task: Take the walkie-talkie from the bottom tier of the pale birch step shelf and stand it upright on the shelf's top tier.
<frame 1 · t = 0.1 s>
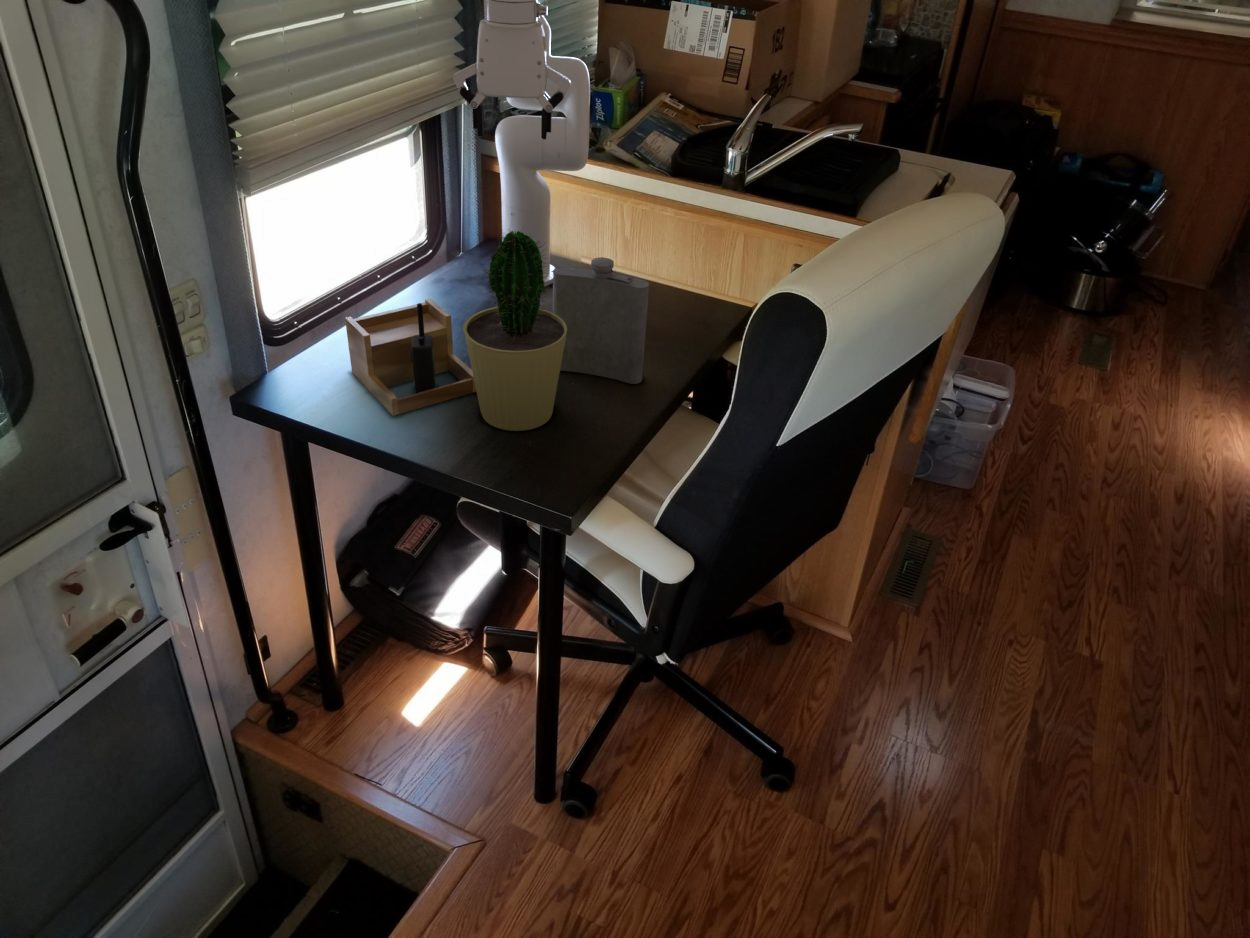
hand: (512, 135, 142), 37 cm above the table, tool pointing down, fingers open, 9 cm apart
step shelf: (414, 381, 153), on the table
walkie-talkie: (425, 392, 151), resting on step shelf
potted cactus: (516, 412, 148), on the table
hip flask: (597, 372, 160), on the table
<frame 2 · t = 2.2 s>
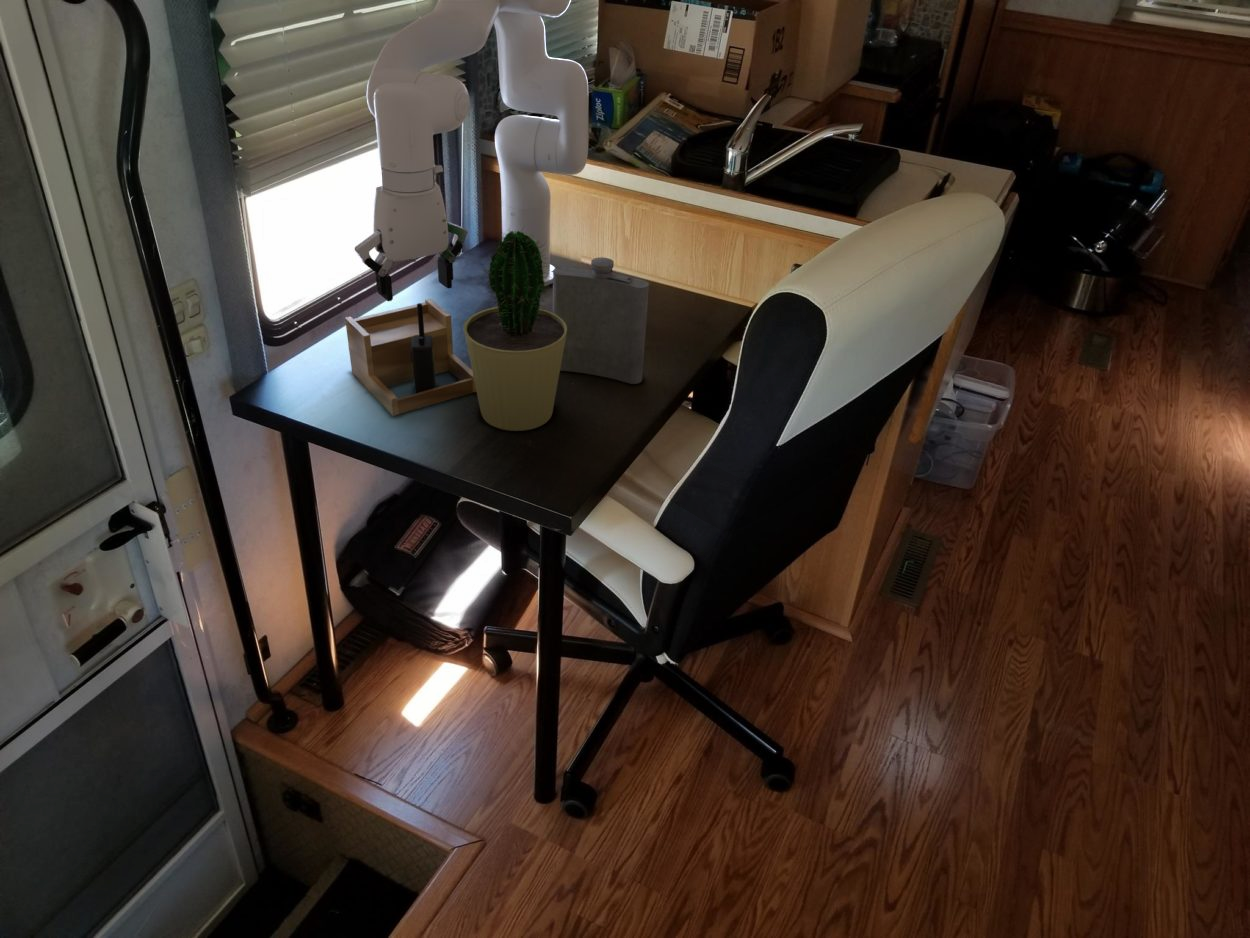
hand: (416, 291, 141), 18 cm above the table, tool pointing down, fingers open, 9 cm apart
nothing on the table moved.
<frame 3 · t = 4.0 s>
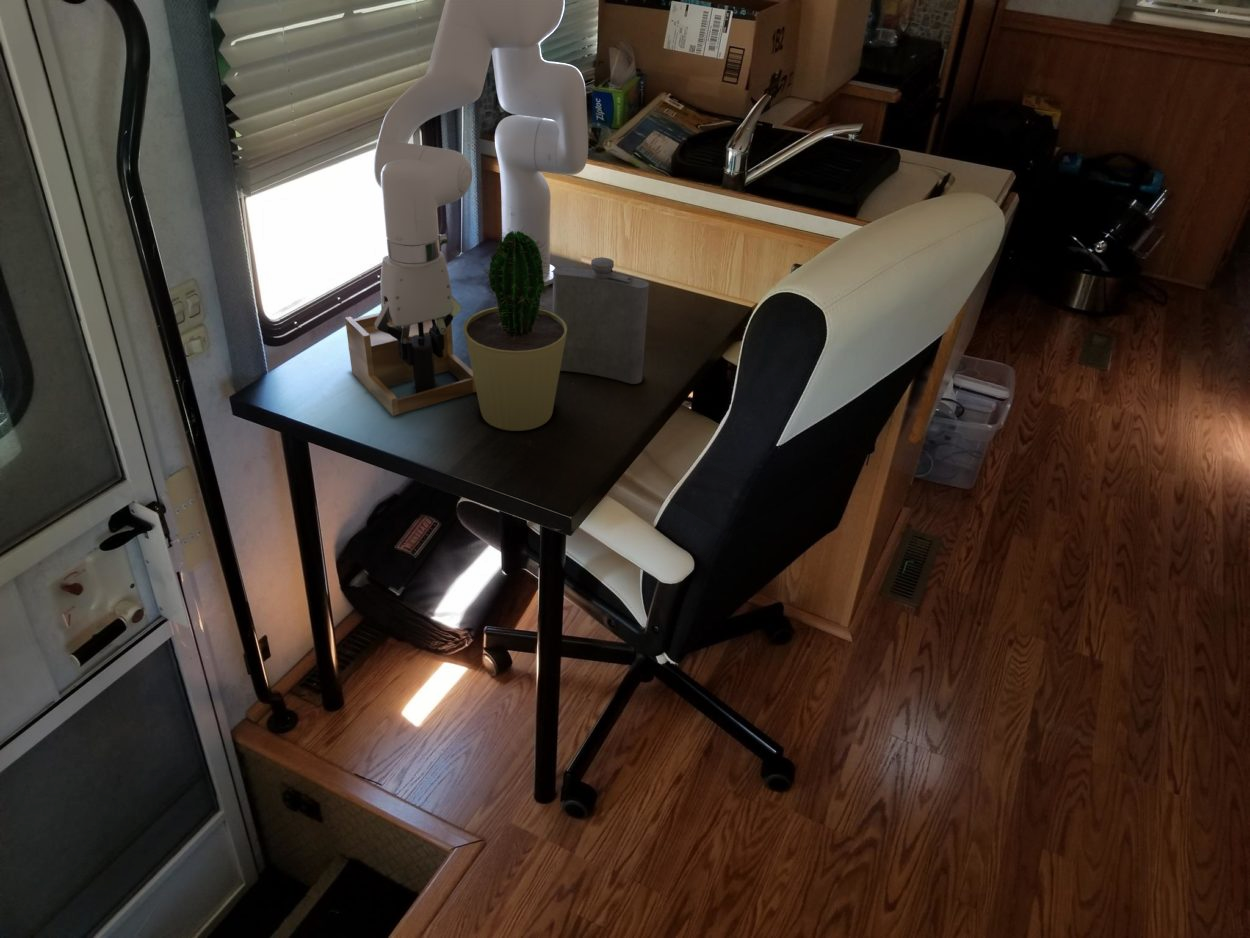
hand: (422, 357, 147), 6 cm above the table, tool pointing down, fingers closed on walkie-talkie, 4 cm apart
walkie-talkie: (425, 392, 151), resting on step shelf, touching gripper
everything else where it was.
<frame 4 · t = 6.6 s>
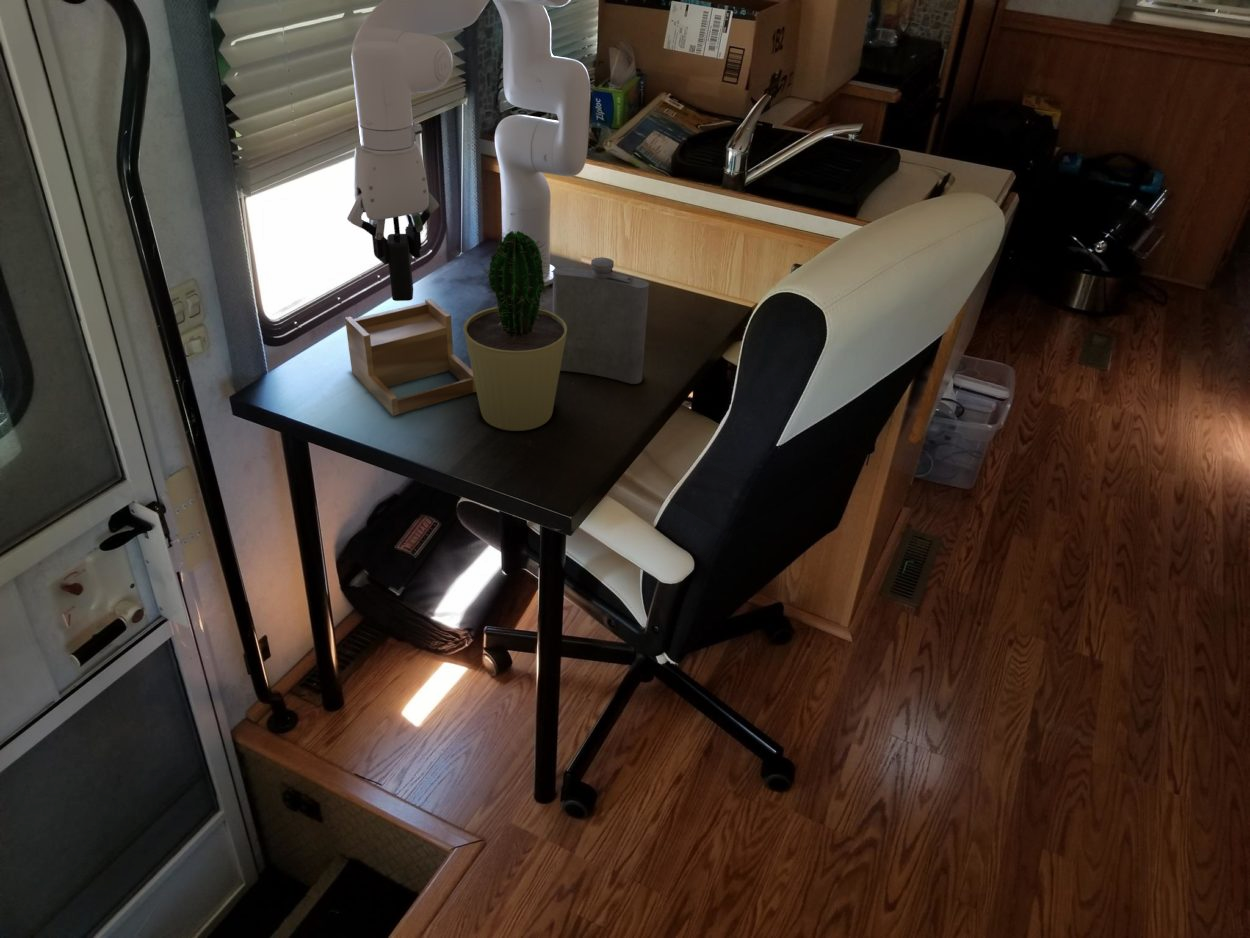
hand: (398, 256, 143), 21 cm above the table, tool pointing down, fingers closed on walkie-talkie, 4 cm apart
walkie-talkie: (402, 295, 147), point 14 cm above the table, touching gripper
everything else where it was.
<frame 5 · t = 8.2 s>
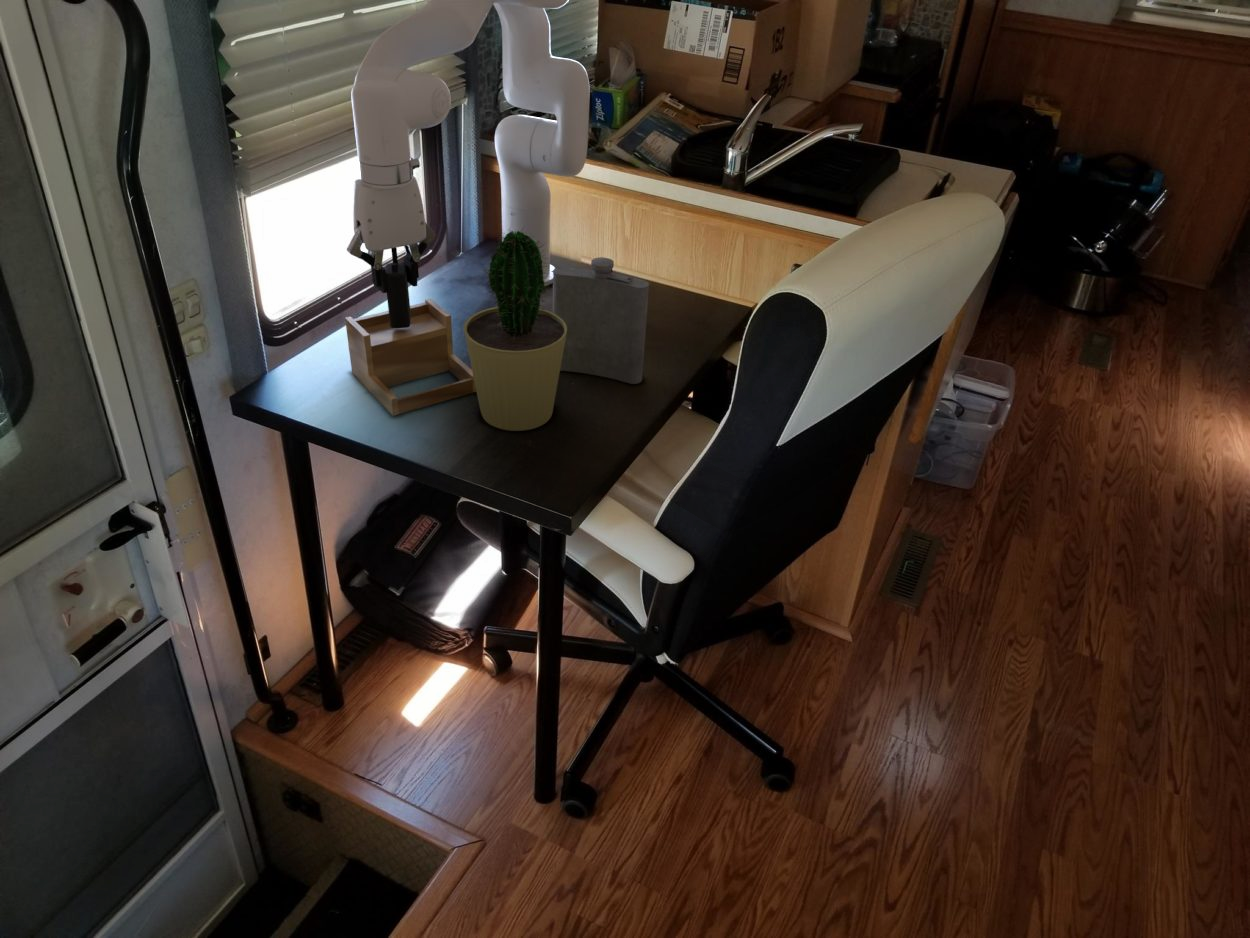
hand: (396, 285, 147), 15 cm above the table, tool pointing down, fingers closed on walkie-talkie, 4 cm apart
walkie-talkie: (400, 322, 151), point 9 cm above the table, touching gripper
everything else where it was.
when the fingers open (14 cm above the table, at t = 9.0 s): walkie-talkie stays where it is, resting on step shelf.
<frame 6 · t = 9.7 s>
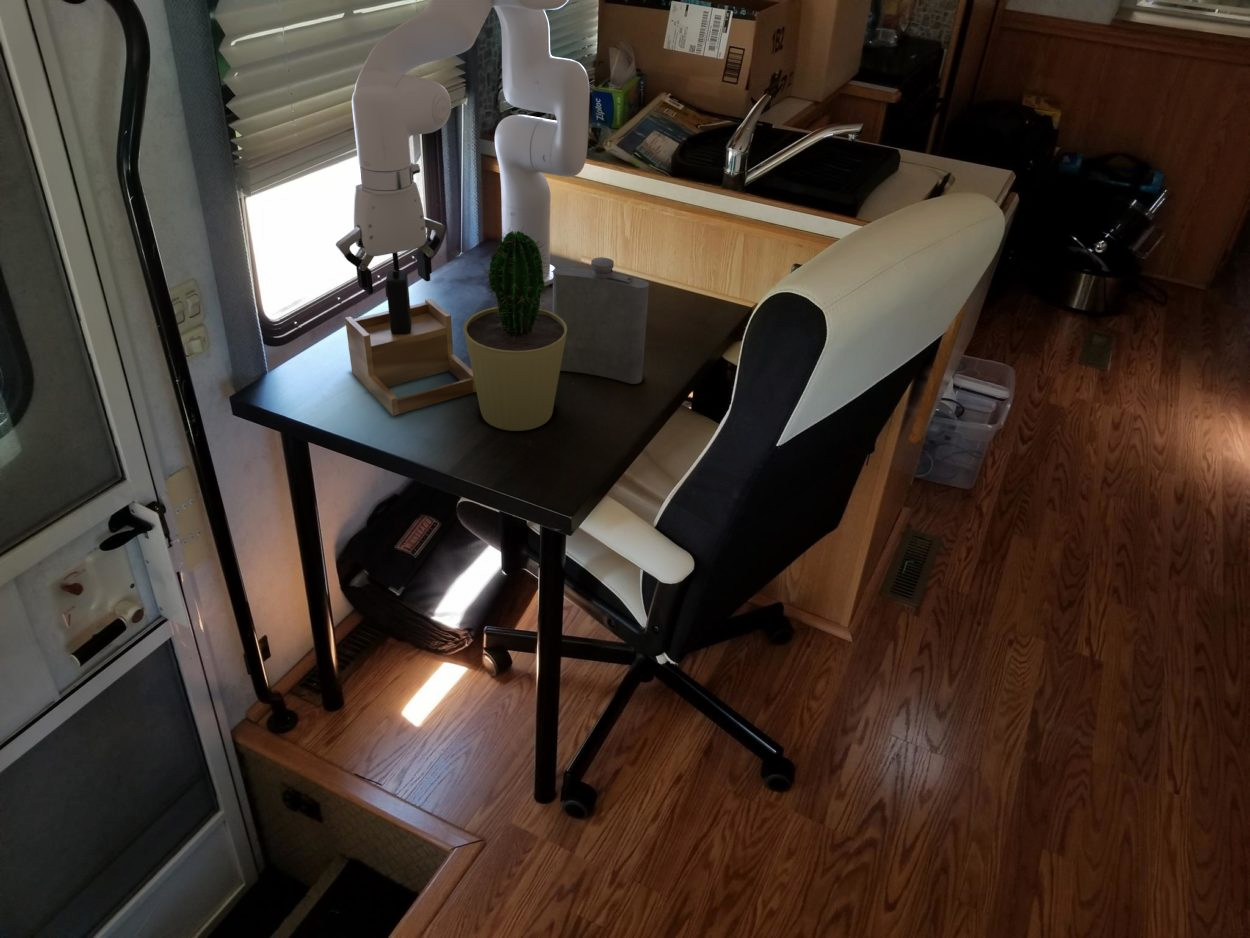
hand: (396, 284, 147), 16 cm above the table, tool pointing down, fingers open, 9 cm apart
walkie-talkie: (400, 329, 152), point 8 cm above the table, touching step shelf
everything else where it was.
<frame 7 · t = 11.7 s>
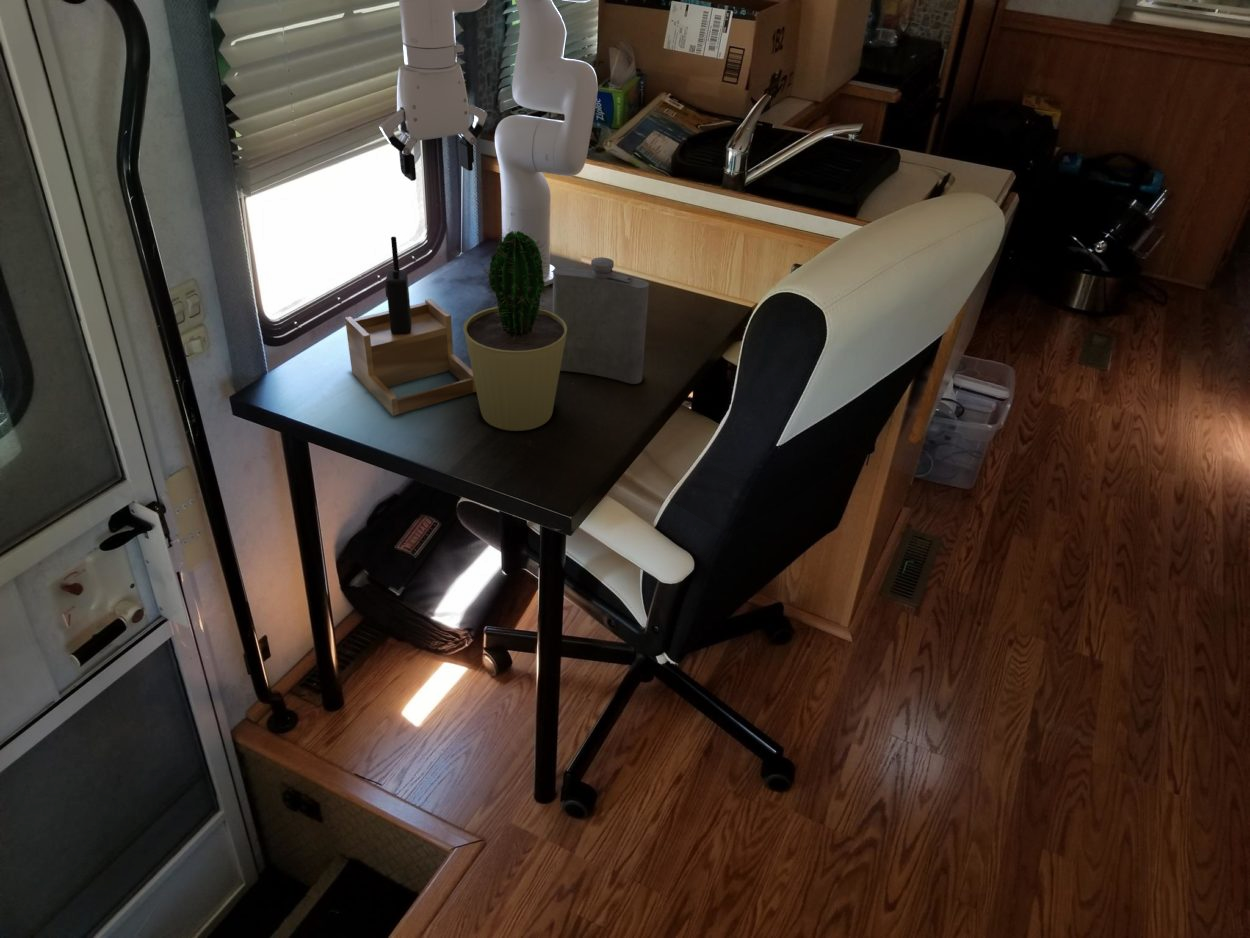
hand: (438, 173, 146), 31 cm above the table, tool pointing down, fingers open, 9 cm apart
nothing on the table moved.
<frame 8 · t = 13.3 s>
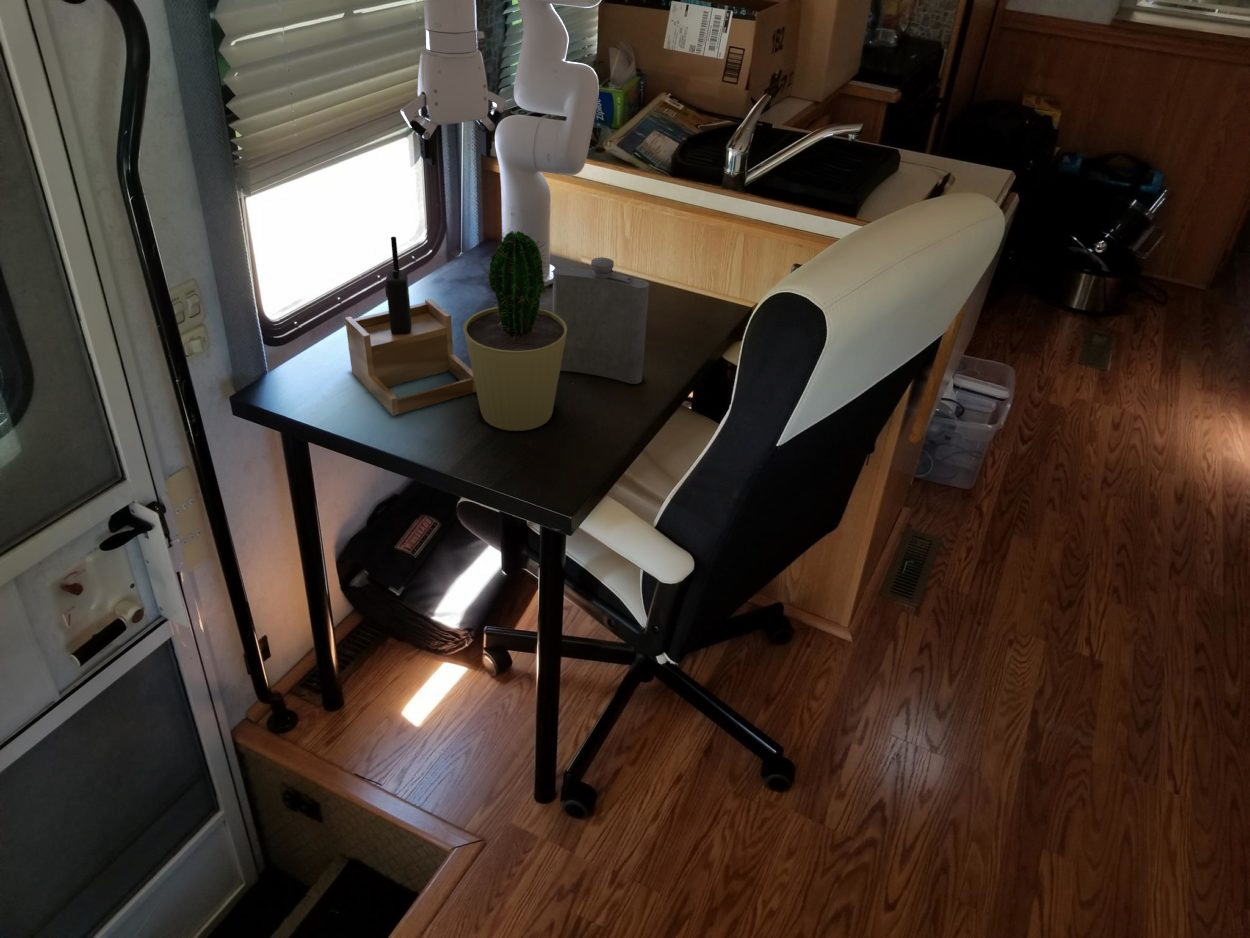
hand: (457, 158, 147), 32 cm above the table, tool pointing down, fingers open, 9 cm apart
nothing on the table moved.
at the end: walkie-talkie inside the target area on the step shelf (0.3 cm from its centre), point 7.8 cm above the step shelf's base; walkie-talkie tilted 0°; the gripper is holding nothing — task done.
